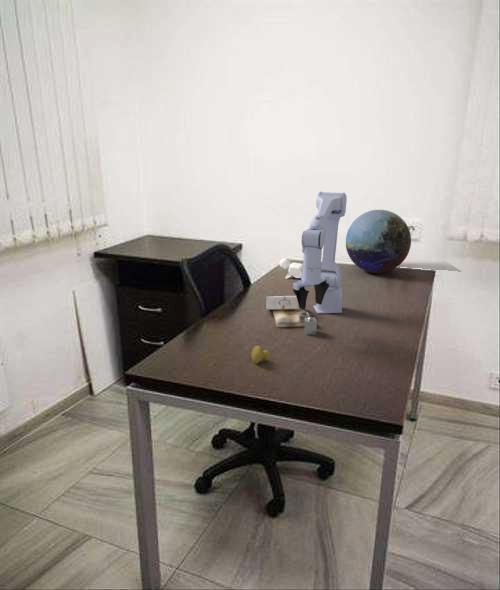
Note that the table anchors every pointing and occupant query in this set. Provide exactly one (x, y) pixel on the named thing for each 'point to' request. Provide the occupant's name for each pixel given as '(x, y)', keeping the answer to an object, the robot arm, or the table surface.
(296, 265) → the white rounded lump
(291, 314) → the beige piece
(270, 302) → the ink cartridge box
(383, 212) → the decorative globe
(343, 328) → the table surface
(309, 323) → the hinge block
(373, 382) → the table surface
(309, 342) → the table surface
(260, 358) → the knob
